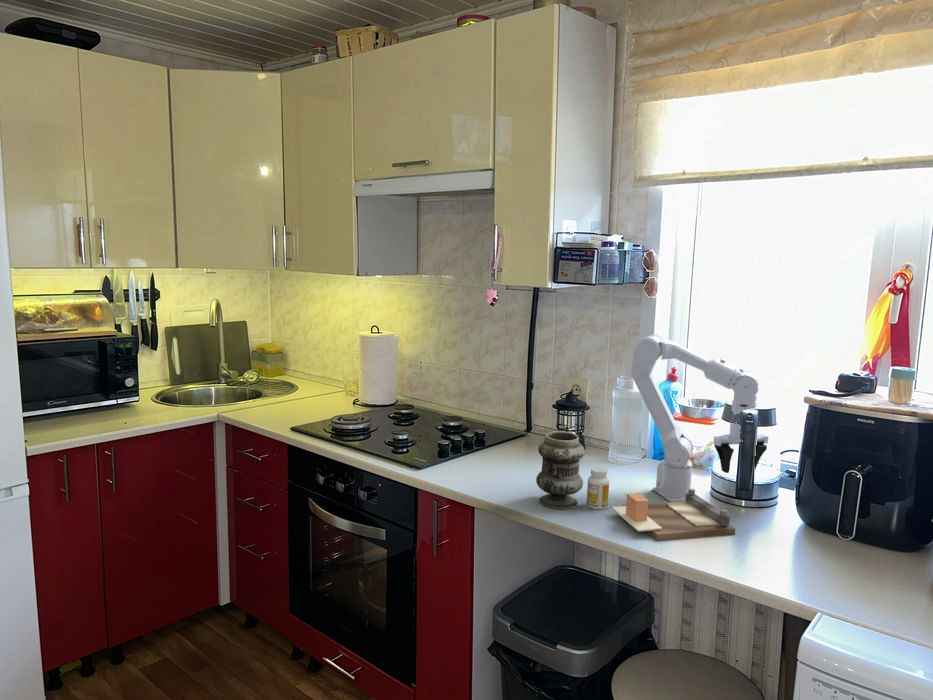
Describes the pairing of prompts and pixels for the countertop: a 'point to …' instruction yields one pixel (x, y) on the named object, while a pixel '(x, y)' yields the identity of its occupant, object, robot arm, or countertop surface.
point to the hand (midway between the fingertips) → (738, 470)
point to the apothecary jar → (560, 469)
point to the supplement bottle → (598, 489)
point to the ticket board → (688, 519)
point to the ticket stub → (637, 513)
